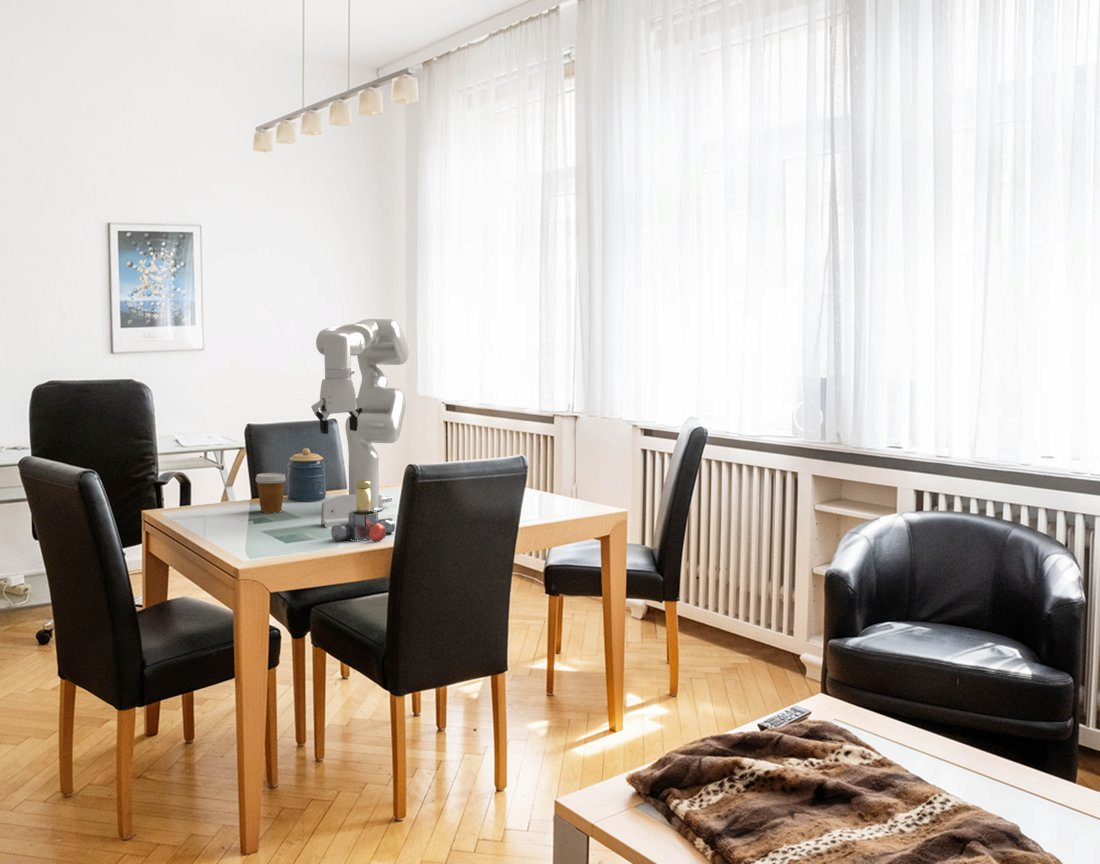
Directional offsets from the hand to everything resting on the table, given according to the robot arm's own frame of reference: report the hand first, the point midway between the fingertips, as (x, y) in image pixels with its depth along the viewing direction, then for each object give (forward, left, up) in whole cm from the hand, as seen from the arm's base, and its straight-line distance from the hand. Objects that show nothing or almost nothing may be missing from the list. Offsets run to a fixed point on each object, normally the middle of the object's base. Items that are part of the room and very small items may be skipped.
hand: (339, 431), depth 293 cm
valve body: (+3, +20, -28) cm, 35 cm away
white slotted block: (-3, -1, -29) cm, 29 cm away
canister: (-13, -48, -29) cm, 57 cm away
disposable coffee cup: (+7, -33, -28) cm, 44 cm away
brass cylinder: (+3, +18, -24) cm, 31 cm away
